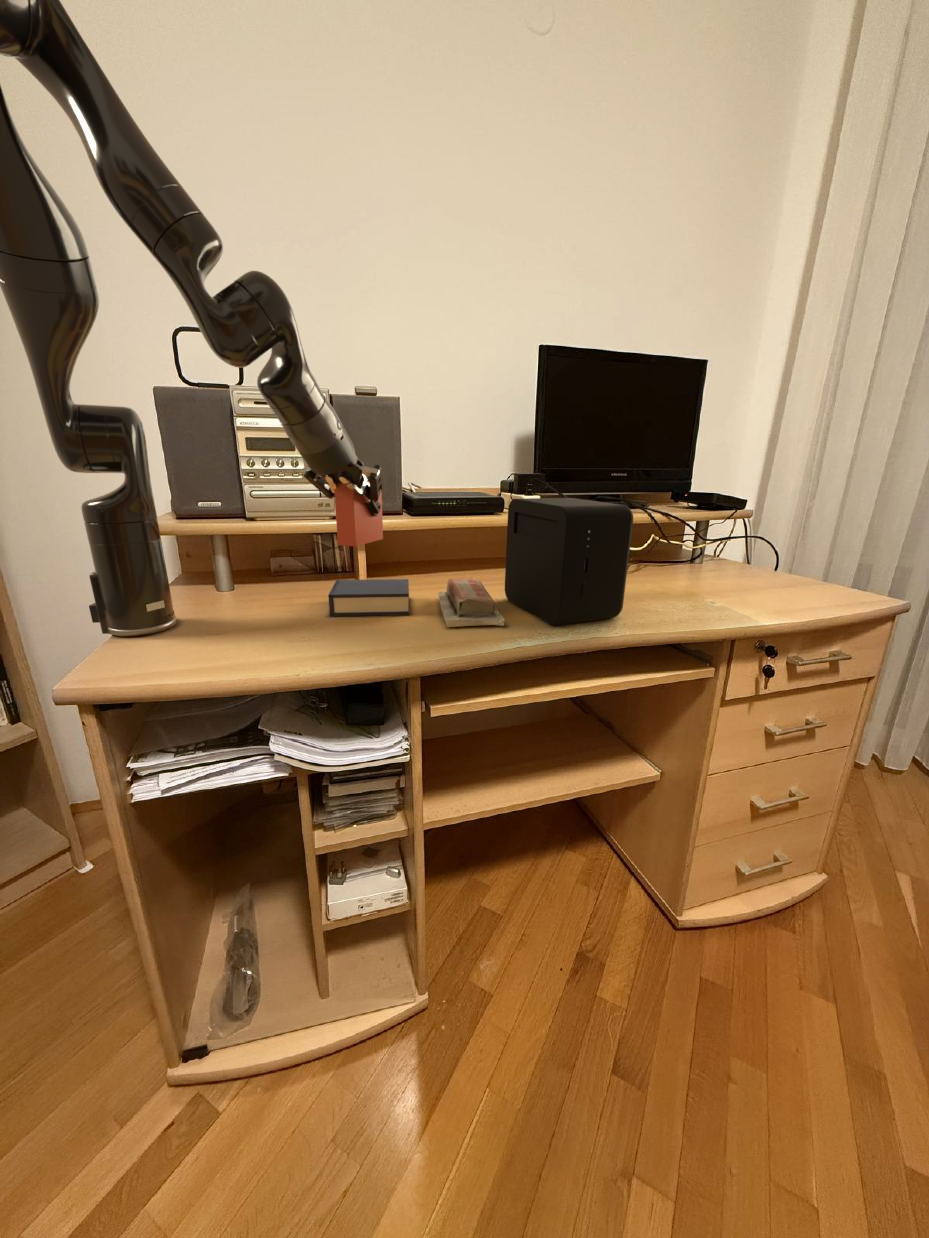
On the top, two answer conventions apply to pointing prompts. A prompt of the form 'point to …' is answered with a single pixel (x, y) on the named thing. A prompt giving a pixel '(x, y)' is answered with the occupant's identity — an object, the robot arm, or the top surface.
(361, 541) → the red rectangular block
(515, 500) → the black nas enclosure
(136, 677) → the top surface
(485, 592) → the packaged product
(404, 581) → the big book
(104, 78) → the robot arm
